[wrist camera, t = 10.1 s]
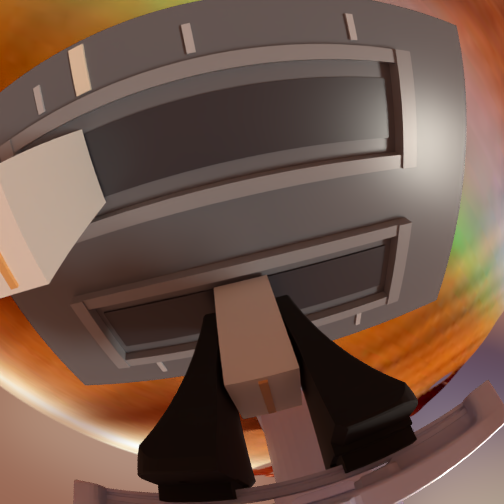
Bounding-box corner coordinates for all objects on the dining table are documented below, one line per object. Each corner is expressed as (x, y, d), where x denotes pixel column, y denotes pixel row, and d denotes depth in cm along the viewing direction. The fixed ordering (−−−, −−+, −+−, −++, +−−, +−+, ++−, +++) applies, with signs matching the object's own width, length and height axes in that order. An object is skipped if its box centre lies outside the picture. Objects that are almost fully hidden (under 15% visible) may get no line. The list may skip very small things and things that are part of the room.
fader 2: (274, 320, 14) (302, 407, 9) (228, 331, 14) (243, 421, 9) (266, 274, 12) (300, 370, 8) (213, 287, 12) (224, 388, 8)
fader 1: (105, 202, 9) (47, 286, 5) (59, 220, 9) (-5, 301, 5) (81, 129, 8) (-8, 167, 3) (34, 153, 7) (-53, 205, 3)
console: (427, 289, 17) (440, 304, 16) (88, 372, 16) (84, 391, 15) (441, 26, 8) (464, 25, 6) (-40, 138, 6) (-60, 147, 5)
